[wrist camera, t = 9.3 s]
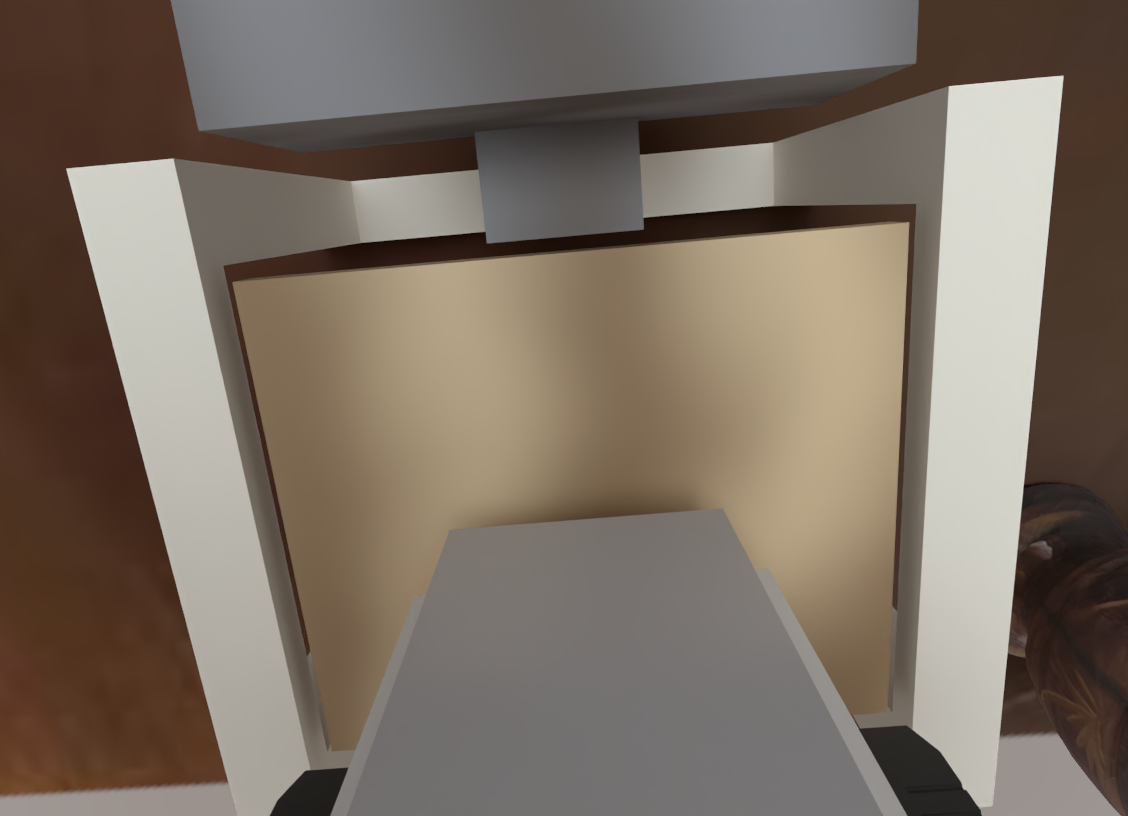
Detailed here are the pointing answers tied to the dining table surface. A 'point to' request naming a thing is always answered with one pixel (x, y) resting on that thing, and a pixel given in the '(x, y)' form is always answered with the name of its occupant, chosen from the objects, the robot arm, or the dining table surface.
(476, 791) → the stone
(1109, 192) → the dining table surface
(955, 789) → the robot arm
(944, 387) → the frame
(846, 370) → the trapdoor
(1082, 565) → the mortar and pestle
